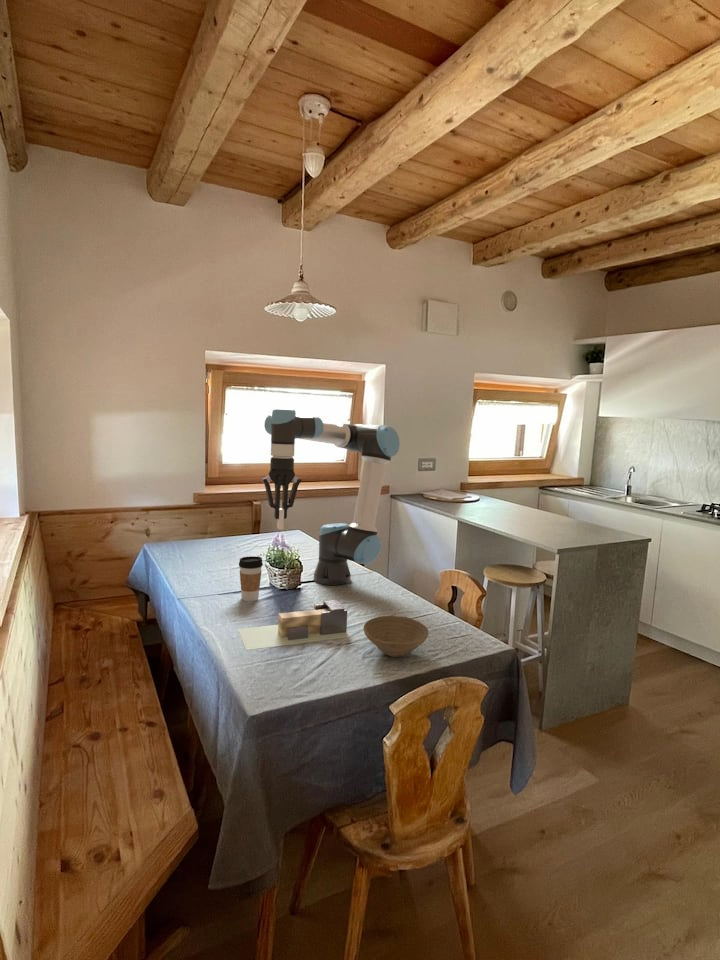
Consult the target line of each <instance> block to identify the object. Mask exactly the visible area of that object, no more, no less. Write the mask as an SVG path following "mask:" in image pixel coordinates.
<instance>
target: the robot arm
mask: <svg viewBox="0 0 720 960" xmlns="http://www.w3.org/2000/svg"><path fill="white" fill-rule="evenodd" d="M296 414H297V412H296V410H295V409H287V408H274V409H272V412H271V414H269V415H267V417H266V418H265V420H264V425H263V426H264V430H265V431H266V432H267V433H268V435H270V436H271V438H270V440H271V441H270V456H271V458H270V464H269V465H270V467H269V469H270V470H269V471H268V475H267V476H266V477H262V478H261V482H262V483H263V485H264V488H265V492H266V498H267V501H268V505H269V507H270V508H271V509H274V518H275V520H276V521H277V522H276V528H277V529H278V530H284V529H285V527H284V526H285V525H284V524H285V523H284V522H285V521H284V520H285V519H287V517H288V515H287V514H288V510H289V508H293V506H294V502H295V500H296V497H297V496H296V495H297V492H298V488H299V485H300V484H301V483H302V479H301V477H300V478H299V477H297V476H296V473H295V459H294V457H295V443H296V439H299V440H304V441H305V440H306V441H312V442H319V443H324V444H325V443H326V444H331V445H334V446H335V447H337V448H340V449H341V448H342V449H345V450H349V451H352V452H356V453H359V454H361V455H360V457H361V459H362V461H363V465H362V466H363V467H362V470H361V471H362V472H361V477H360V482H359V485H358V486H359V487H358V493H357V499H356V503H355V507H354V508H355V509H354V515H353V520H352V522H351V523H349V524H348V523H340V522H339V523H327V524H323V525H322V526H321V527H320V528H319V529H320V530H319V535H318V536H319V537H318V539H319V540H318V541H319V543H318V562H317V564H316V568H315V570H314V572H313V581H314V582H316V583H317V584H320V585H321V584H322V585H325V586H326V585H327V586H341V585H340V584H343V585H345V584H344V583H346V584H348V583H347V582H349V581H350V582H351V580H350V579H351V578H352V577H351V576H352V574H351V572H350V571H351V570H350V567H349V563H348V561H350V562H351V561H352V562H355V563H356V564H362V565H369V564H371V563H373V562H374V561H375V560H377V558H378V556H379V555H380V552H381V550H382V542H381V538H380V537H379V536H378V529H377V528H376V520H377V515H378V510H379V509H378V508H379V503H380V498H381V492H382V487H383V483H384V477H385V472H386V471H385V470H386V466H387V465H388V464H389V463H391V459H392V457H395V456H396V455H397V454H398V452H399V450H400V444H401V443H400V436H399V433H398V432H397V430H396V429H395V428H394V427H392V426H389V425H384V424H366V423H354V424H352V423H351V424H349V423H348V424H347V423H343V422H342V423H338V424H334V423H329V422H323V420H322V418H321V417H319V416H315V415H298V414H297V415H296ZM271 481H272V483H273V484H274V496H273V492H272V487H271V485H270V483H271ZM291 483H292V486H291V490H290V492H289V485H290V484H291ZM281 486H282V487H281ZM281 488H282V489H281ZM281 490H282V495H281ZM281 496H282V501H281ZM273 497H274V499H273ZM280 505H281V507H282V508H281V507H280ZM350 582H349V583H350Z"/></svg>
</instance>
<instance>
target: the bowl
mask: <svg viewBox="0 0 720 960" xmlns="http://www.w3.org/2000/svg"><path fill="white" fill-rule="evenodd" d="M363 633H364V635H365V636H366V638H367V639H368V640H369V641H370V642H371V643H372V644H373V645H374V646H375V647H377V649H378V650H379V651H381V653H383V654H385V655H387V656H389V657H393V658H397V657H398V658H399V657H403V656H406V655H408V654H410V653H412V652H413V651H414V650H415V649H417V648H418V647H419V646H421V645H422V644H423V643H424V642H425V641H426V640H427V639H428V637H429V629H428V628H427V626H425V624H423V623H422V622H420V621H418V620H416V619H413V618H411V617H407V616H396V615H381V616H376V617H373V618H371V619H368V620H367V621H366V622H365V623H364V624H363Z"/></svg>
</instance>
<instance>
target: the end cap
mask: <svg viewBox="0 0 720 960" xmlns="http://www.w3.org/2000/svg"><path fill="white" fill-rule="evenodd" d="M313 606H314V609H313V610H318V609H329V610H330V611H324V612H321V627H320V634H321V635H327V634H335V633H344V632H346V631H347V628H348V609H346V607H345V606H343V604H342V603H340V601H337V600H336V599H330V600H323V603H322V602H321V603H315V604H314V605H313ZM347 632H348V631H347Z"/></svg>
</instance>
